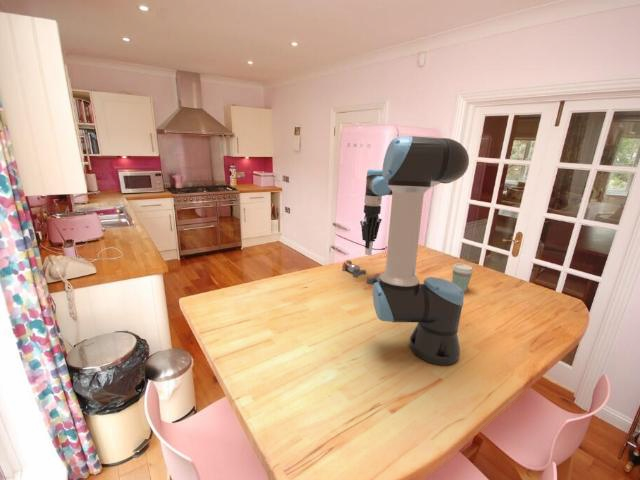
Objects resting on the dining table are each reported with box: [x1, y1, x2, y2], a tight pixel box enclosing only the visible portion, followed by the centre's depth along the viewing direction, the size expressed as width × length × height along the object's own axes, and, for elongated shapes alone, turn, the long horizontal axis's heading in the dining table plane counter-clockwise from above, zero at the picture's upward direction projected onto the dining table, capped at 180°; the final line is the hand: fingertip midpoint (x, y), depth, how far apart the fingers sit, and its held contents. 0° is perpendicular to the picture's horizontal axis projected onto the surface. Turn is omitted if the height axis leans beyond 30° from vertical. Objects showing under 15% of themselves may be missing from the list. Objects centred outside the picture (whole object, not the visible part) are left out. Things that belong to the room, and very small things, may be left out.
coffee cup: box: [451, 263, 474, 294], centre depth 135 cm, size 8×8×12 cm
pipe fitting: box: [341, 259, 382, 285], centre depth 143 cm, size 8×26×6 cm, turn 42°
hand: (368, 254), depth 141 cm, fingers closed
